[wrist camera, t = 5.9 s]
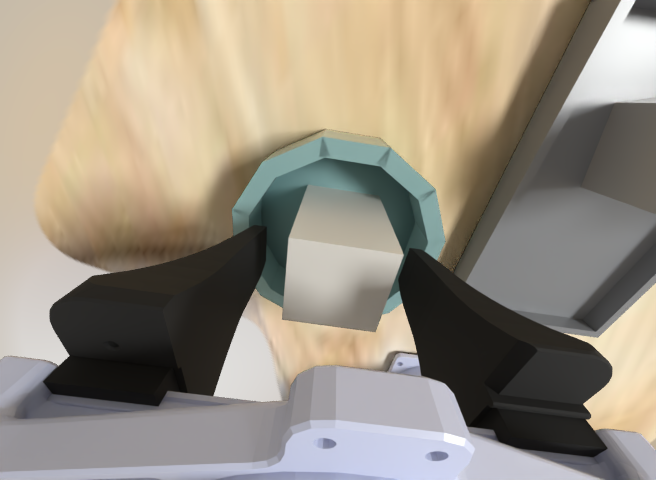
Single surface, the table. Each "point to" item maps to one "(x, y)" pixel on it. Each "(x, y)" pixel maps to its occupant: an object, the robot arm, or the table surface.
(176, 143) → the table surface
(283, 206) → the bowl
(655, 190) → the light gray rectangular block
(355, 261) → the beige rectangular block
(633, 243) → the tray
